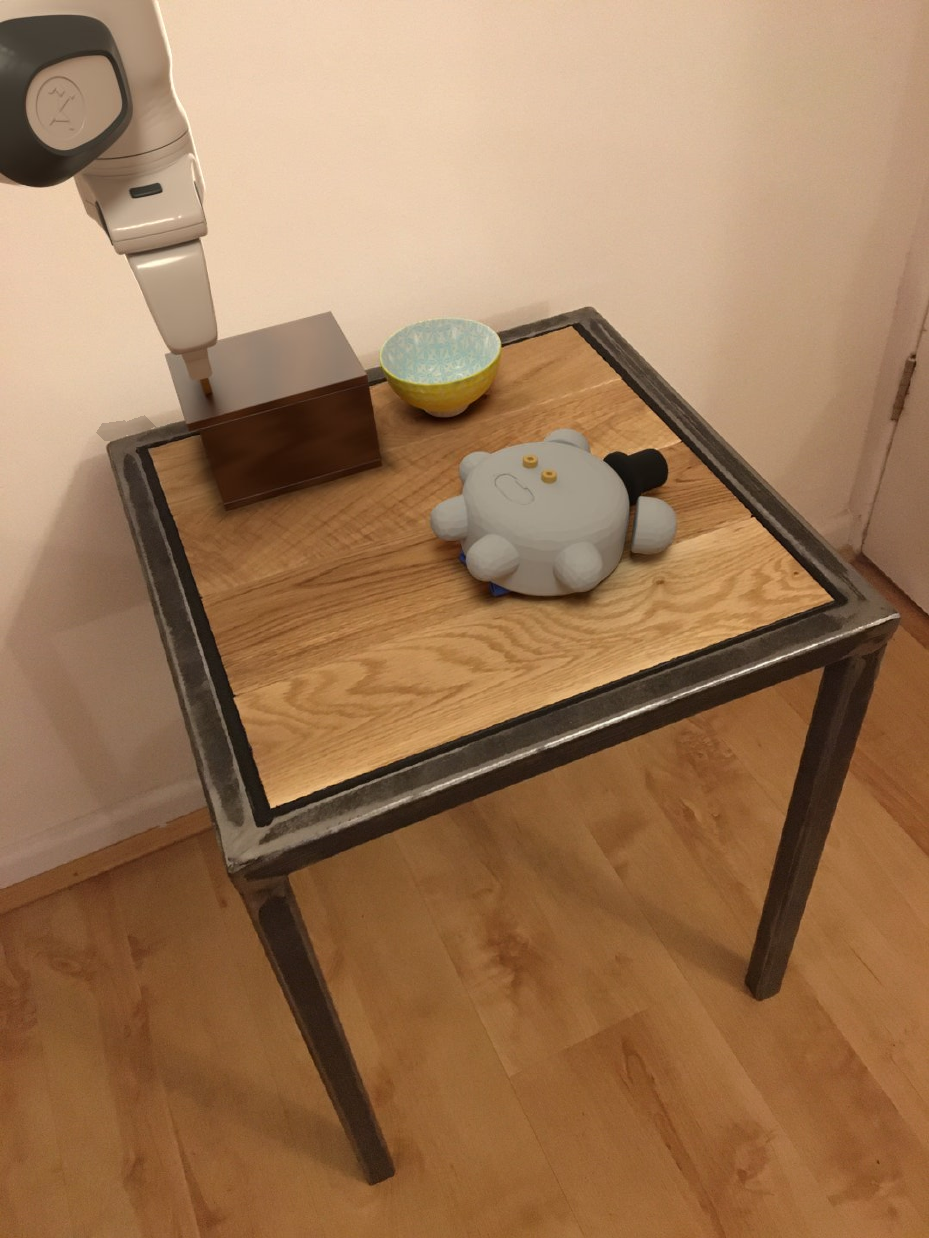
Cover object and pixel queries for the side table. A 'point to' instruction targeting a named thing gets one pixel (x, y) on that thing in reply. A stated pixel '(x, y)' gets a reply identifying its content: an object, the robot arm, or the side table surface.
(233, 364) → the lid
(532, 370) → the side table surface
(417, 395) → the bowl
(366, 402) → the chest
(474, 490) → the figurine
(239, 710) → the side table surface
